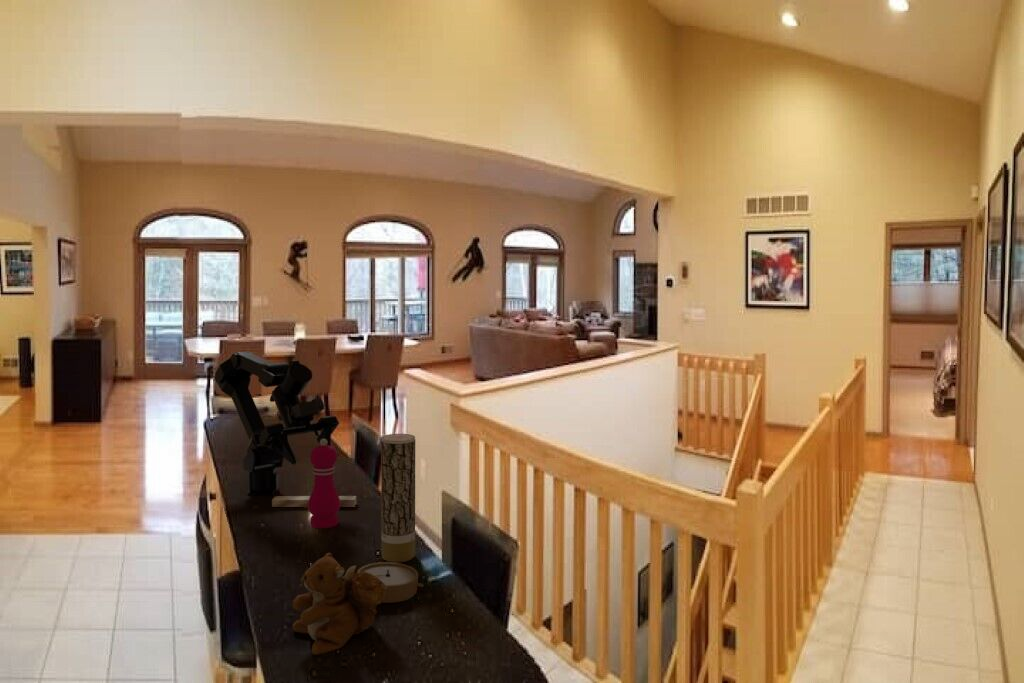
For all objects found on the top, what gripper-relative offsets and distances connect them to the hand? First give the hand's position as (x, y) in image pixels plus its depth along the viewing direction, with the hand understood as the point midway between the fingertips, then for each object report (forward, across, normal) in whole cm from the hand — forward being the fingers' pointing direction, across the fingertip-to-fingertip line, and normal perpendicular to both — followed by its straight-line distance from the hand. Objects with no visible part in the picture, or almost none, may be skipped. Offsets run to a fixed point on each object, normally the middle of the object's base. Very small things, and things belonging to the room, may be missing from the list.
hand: (312, 460), depth 170 cm
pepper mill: (+15, -2, +4) cm, 15 cm away
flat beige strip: (+6, +4, +13) cm, 15 cm away
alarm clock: (+41, -14, -24) cm, 49 cm away
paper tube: (+34, -1, -17) cm, 38 cm away
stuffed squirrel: (+46, -27, -31) cm, 62 cm away
